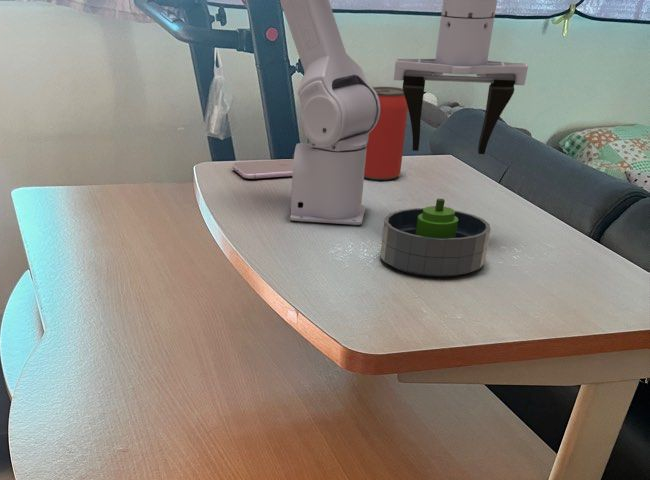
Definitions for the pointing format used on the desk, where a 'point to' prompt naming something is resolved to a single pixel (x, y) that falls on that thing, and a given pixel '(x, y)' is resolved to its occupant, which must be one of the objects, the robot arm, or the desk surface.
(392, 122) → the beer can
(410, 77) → the robot arm
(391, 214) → the bowl
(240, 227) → the desk surface
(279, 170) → the mobile phone
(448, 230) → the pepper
